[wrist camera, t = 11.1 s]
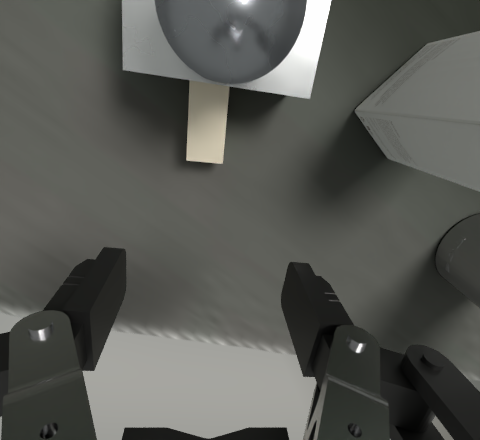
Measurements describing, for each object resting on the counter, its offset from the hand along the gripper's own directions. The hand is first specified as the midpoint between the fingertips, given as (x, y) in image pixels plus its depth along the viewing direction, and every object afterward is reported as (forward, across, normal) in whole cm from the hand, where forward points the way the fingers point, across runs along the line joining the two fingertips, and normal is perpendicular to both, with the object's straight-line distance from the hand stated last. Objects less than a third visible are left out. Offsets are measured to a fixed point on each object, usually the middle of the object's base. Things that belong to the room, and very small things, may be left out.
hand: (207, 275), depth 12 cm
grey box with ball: (+18, 0, -10) cm, 21 cm away
